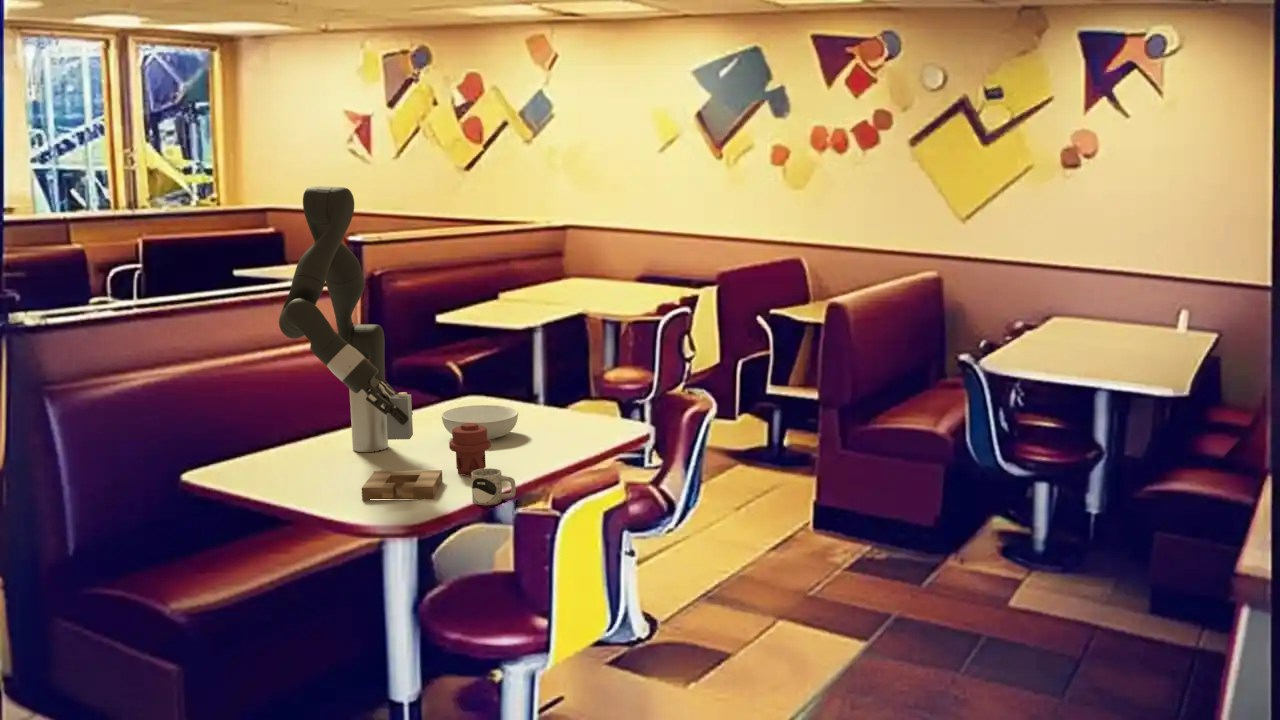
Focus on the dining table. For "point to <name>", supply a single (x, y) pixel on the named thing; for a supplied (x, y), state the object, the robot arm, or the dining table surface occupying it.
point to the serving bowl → (482, 418)
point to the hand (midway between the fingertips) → (408, 419)
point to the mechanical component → (469, 447)
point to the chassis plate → (402, 485)
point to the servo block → (393, 425)
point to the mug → (490, 486)
